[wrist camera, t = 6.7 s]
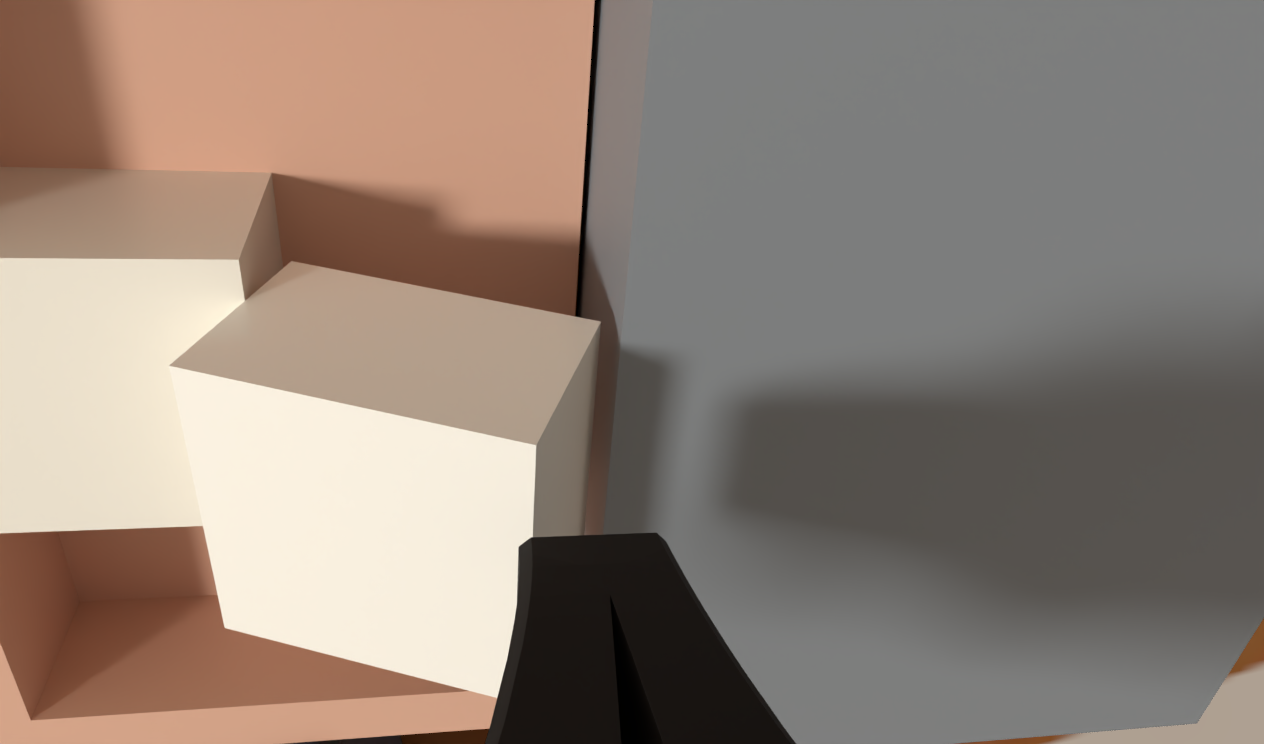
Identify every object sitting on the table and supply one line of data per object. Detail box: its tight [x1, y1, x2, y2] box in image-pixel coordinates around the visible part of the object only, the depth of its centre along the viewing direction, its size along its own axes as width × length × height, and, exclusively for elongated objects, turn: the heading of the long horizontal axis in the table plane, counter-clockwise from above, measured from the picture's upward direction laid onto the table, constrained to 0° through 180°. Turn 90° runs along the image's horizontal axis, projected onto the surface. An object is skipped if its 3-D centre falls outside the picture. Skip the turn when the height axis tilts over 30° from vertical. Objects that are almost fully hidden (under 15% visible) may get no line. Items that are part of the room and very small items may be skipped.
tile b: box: [0, 167, 283, 533], centre depth 13 cm, size 4×4×2 cm
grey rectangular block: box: [576, 0, 1264, 744], centre depth 15 cm, size 11×14×4 cm
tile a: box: [169, 261, 601, 698], centre depth 12 cm, size 4×4×2 cm
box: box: [0, 0, 595, 744], centre depth 13 cm, size 9×14×3 cm, turn 175°
